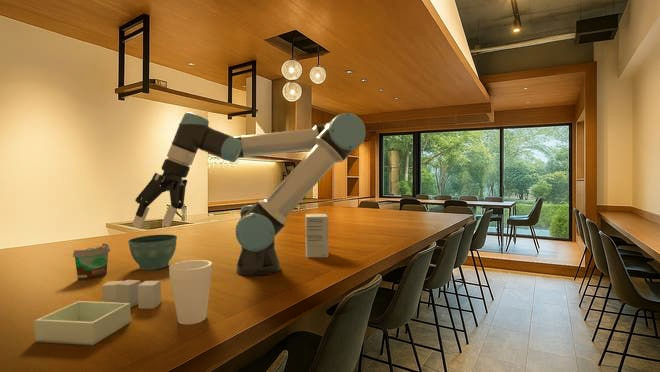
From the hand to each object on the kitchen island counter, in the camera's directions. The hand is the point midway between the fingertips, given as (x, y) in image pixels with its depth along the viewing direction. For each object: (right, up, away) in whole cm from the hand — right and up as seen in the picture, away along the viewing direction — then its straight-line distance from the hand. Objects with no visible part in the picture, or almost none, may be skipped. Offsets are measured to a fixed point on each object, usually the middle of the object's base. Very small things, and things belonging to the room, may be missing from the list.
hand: (151, 226), depth 109 cm
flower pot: (-11, -18, +24) cm, 32 cm away
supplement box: (+49, -17, +41) cm, 66 cm away
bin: (+1, -20, -30) cm, 36 cm away
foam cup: (+22, -20, -24) cm, 38 cm away
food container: (-24, -18, +12) cm, 33 cm away
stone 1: (-5, -19, -11) cm, 23 cm away
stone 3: (+7, -19, -15) cm, 25 cm away
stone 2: (+1, -19, -14) cm, 24 cm away
